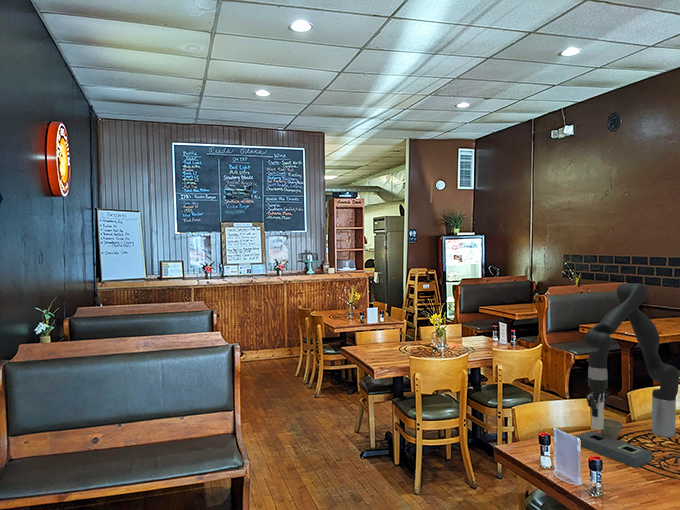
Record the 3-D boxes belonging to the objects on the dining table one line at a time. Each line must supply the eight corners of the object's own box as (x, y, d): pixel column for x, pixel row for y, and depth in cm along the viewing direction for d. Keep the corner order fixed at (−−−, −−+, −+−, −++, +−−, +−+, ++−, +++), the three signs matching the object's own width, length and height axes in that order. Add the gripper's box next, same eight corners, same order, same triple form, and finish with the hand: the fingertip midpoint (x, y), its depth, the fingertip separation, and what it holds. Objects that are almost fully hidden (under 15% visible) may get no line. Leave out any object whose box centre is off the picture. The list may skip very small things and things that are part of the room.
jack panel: (592, 439, 220) (592, 430, 219) (652, 461, 197) (652, 451, 197) (575, 444, 214) (575, 435, 214) (635, 468, 191) (635, 457, 191)
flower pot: (597, 439, 219) (598, 423, 219) (597, 431, 228) (597, 416, 228) (623, 443, 215) (623, 427, 215) (621, 435, 224) (622, 420, 223)
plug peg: (594, 425, 214) (594, 399, 214) (603, 428, 211) (603, 401, 210) (589, 427, 212) (589, 400, 212) (598, 430, 209) (599, 403, 209)
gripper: (599, 372, 217) (598, 410, 218) (579, 377, 210) (579, 416, 211) (615, 376, 211) (615, 415, 211) (596, 381, 204) (596, 421, 204)
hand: (597, 415), depth 211 cm, fingers closed on plug peg, 3 cm apart
